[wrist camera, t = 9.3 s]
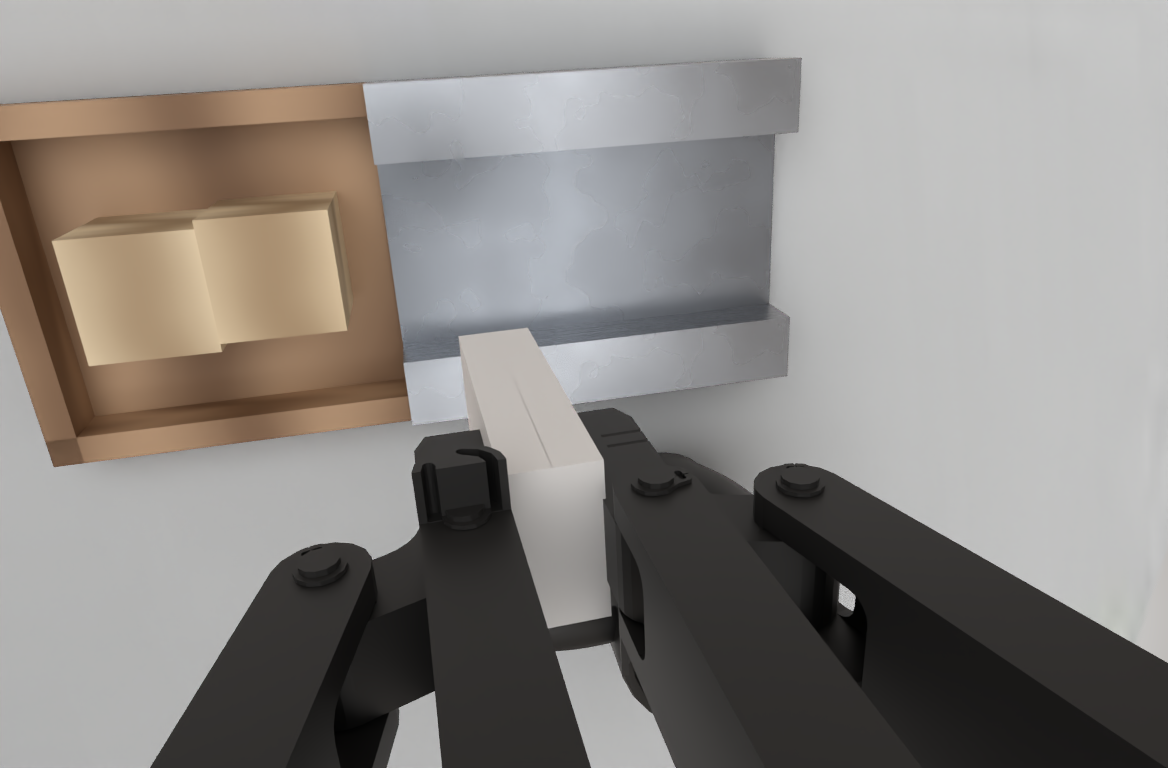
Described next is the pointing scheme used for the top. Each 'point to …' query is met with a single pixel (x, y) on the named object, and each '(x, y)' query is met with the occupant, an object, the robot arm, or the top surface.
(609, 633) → the mug
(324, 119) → the tray
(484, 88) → the slot rail
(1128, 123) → the top surface
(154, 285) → the chip
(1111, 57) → the top surface
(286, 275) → the chip
